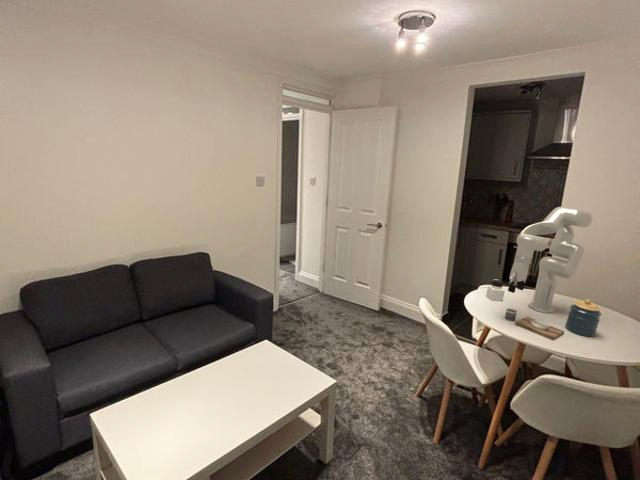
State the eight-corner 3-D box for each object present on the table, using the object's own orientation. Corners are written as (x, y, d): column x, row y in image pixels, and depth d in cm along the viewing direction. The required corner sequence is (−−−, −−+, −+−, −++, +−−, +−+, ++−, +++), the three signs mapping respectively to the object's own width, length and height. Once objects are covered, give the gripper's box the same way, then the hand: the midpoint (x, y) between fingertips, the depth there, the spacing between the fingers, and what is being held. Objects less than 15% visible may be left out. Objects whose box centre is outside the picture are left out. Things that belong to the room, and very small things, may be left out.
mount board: (526, 319, 192) (527, 314, 191) (563, 333, 178) (565, 328, 177) (515, 324, 184) (516, 319, 184) (553, 340, 171) (554, 334, 170)
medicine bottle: (502, 301, 215) (506, 283, 212) (490, 300, 215) (494, 282, 213) (497, 296, 222) (500, 278, 219) (485, 295, 222) (489, 278, 219)
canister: (597, 340, 175) (607, 307, 170) (566, 332, 181) (574, 300, 176) (592, 329, 186) (601, 298, 182) (563, 322, 192) (571, 292, 188)
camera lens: (507, 316, 194) (509, 307, 193) (516, 319, 191) (518, 311, 189) (502, 318, 191) (504, 309, 190) (512, 321, 188) (514, 313, 186)
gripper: (523, 256, 191) (516, 286, 195) (507, 259, 181) (500, 290, 185) (537, 260, 185) (530, 290, 189) (522, 263, 175) (515, 295, 179)
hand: (515, 290), depth 187 cm, fingers open, 9 cm apart
